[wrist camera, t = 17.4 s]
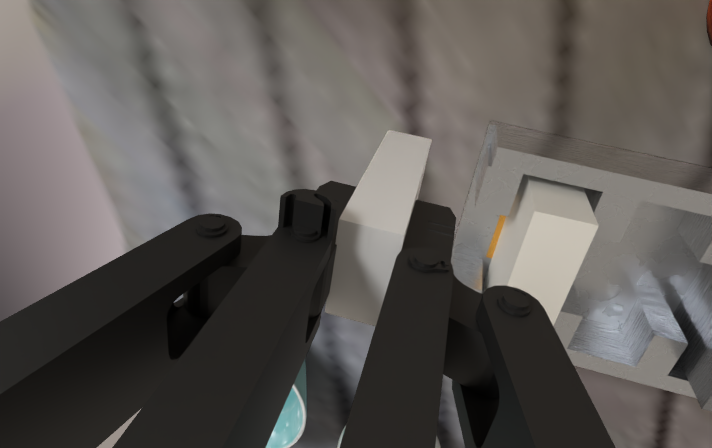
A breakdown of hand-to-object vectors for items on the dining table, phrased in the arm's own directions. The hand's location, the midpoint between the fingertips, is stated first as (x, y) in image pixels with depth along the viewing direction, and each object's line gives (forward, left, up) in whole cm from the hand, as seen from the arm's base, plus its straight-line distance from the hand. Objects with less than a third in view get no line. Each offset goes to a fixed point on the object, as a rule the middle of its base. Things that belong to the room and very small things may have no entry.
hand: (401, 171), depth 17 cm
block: (+10, -13, -23) cm, 28 cm away
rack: (+18, -13, -24) cm, 33 cm away
